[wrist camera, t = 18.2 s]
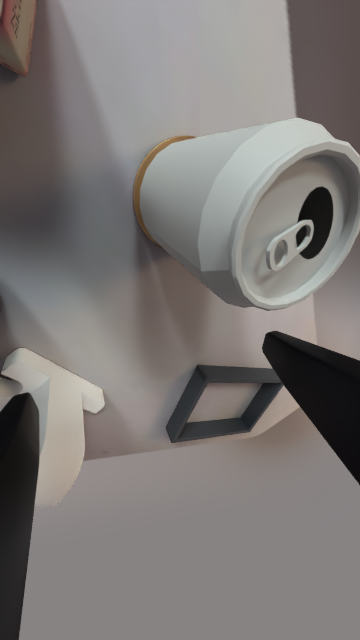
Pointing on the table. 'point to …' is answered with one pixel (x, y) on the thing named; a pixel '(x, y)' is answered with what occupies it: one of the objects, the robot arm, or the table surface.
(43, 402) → the white phone stand
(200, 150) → the can
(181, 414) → the dark grey rectangular frame
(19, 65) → the small box
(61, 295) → the table surface
